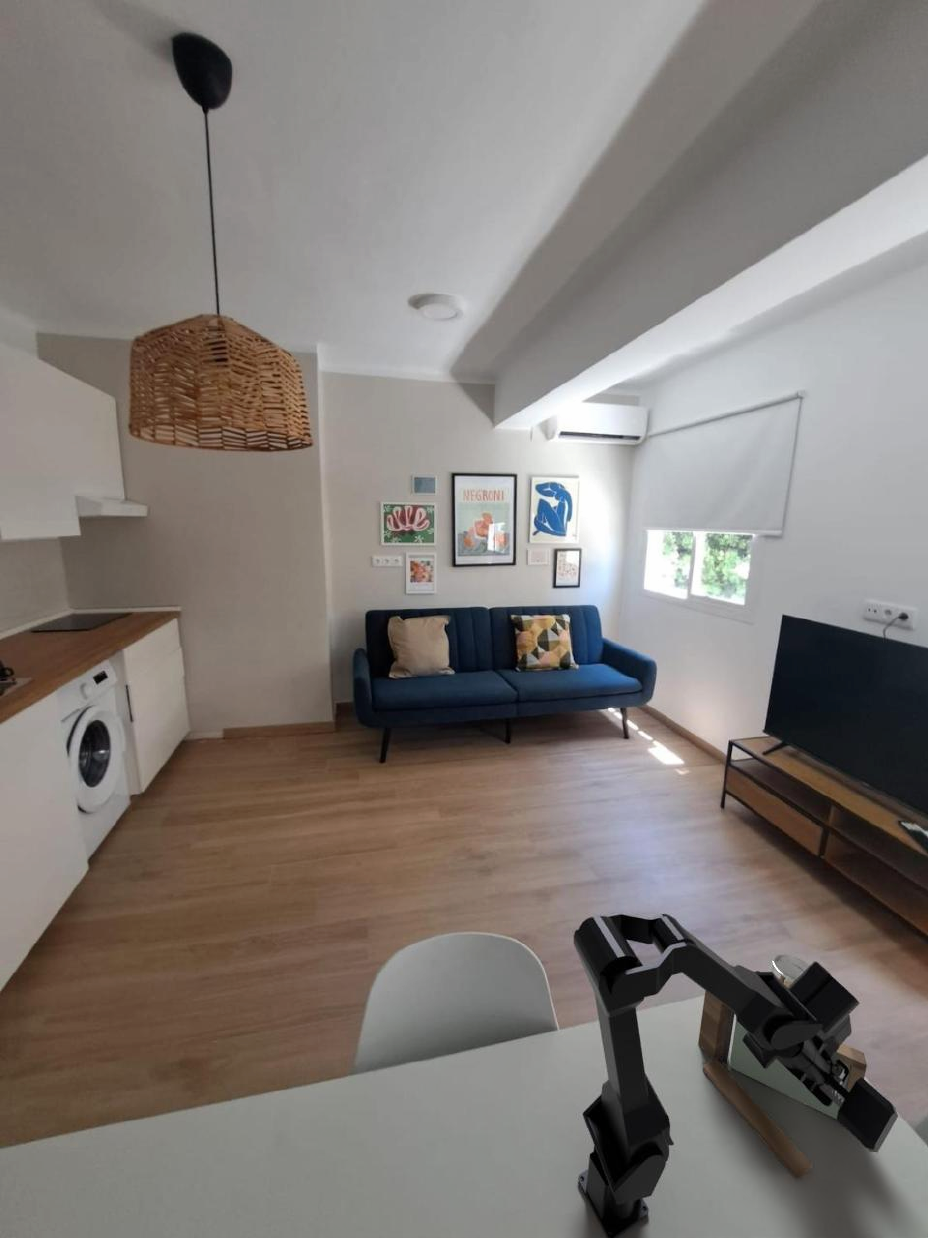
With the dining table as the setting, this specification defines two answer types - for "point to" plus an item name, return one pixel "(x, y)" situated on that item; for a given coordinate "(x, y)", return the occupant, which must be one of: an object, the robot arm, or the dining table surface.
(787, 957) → the beer glass
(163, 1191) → the dining table surface
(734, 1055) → the board
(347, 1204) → the dining table surface
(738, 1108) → the gate frame
